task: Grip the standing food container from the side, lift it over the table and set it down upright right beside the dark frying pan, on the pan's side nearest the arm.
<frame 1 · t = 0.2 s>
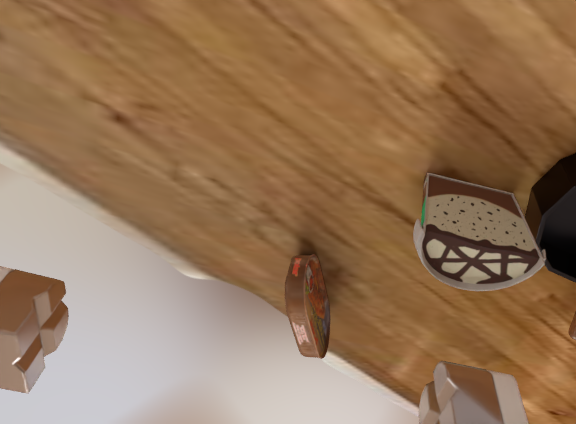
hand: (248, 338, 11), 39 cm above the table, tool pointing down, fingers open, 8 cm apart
tin: (312, 281, 67), on the table
food container: (458, 203, 56), on the table
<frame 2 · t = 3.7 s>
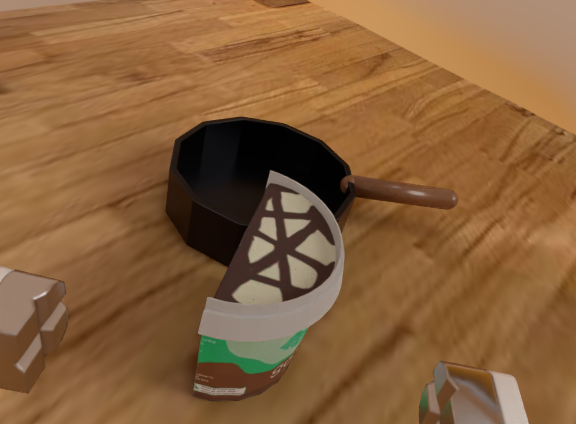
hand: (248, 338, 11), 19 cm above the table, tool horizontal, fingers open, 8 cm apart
food container: (262, 352, 34), on the table
pan: (255, 208, 45), on the table
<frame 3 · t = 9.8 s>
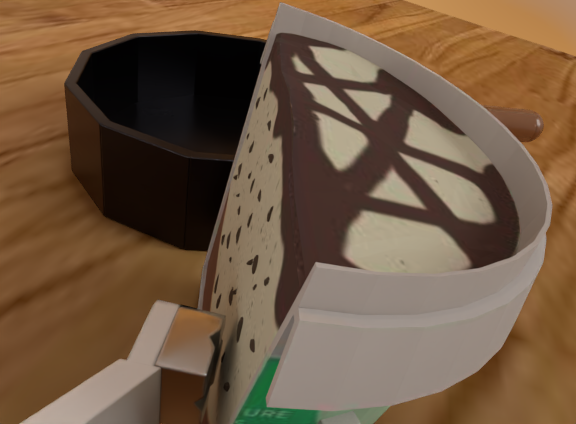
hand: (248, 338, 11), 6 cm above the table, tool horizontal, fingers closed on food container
food container: (282, 390, 17), on the table, touching gripper
pan: (226, 161, 28), on the table
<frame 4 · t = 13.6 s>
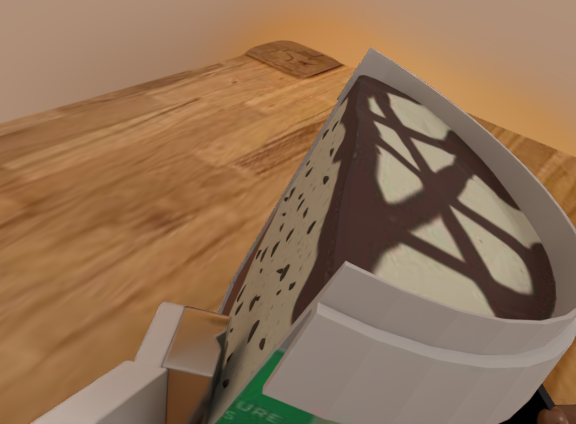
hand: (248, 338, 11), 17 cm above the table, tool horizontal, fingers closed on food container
food container: (275, 419, 17), point 11 cm above the table, touching gripper
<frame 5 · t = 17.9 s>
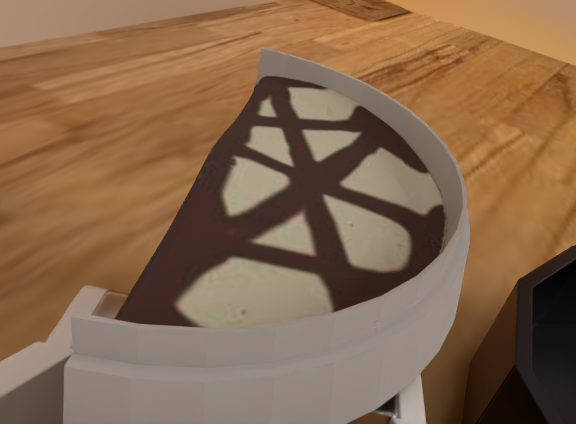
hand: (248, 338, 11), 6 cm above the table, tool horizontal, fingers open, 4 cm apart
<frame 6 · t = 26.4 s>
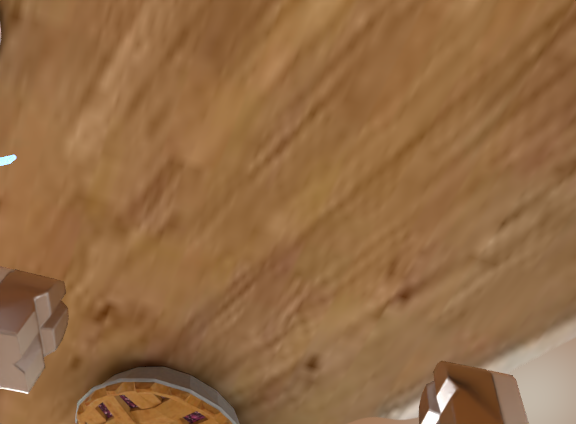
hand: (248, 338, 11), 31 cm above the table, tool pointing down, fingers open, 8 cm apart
pie: (169, 412, 68), on the table
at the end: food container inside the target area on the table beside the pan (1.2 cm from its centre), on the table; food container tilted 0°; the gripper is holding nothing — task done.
